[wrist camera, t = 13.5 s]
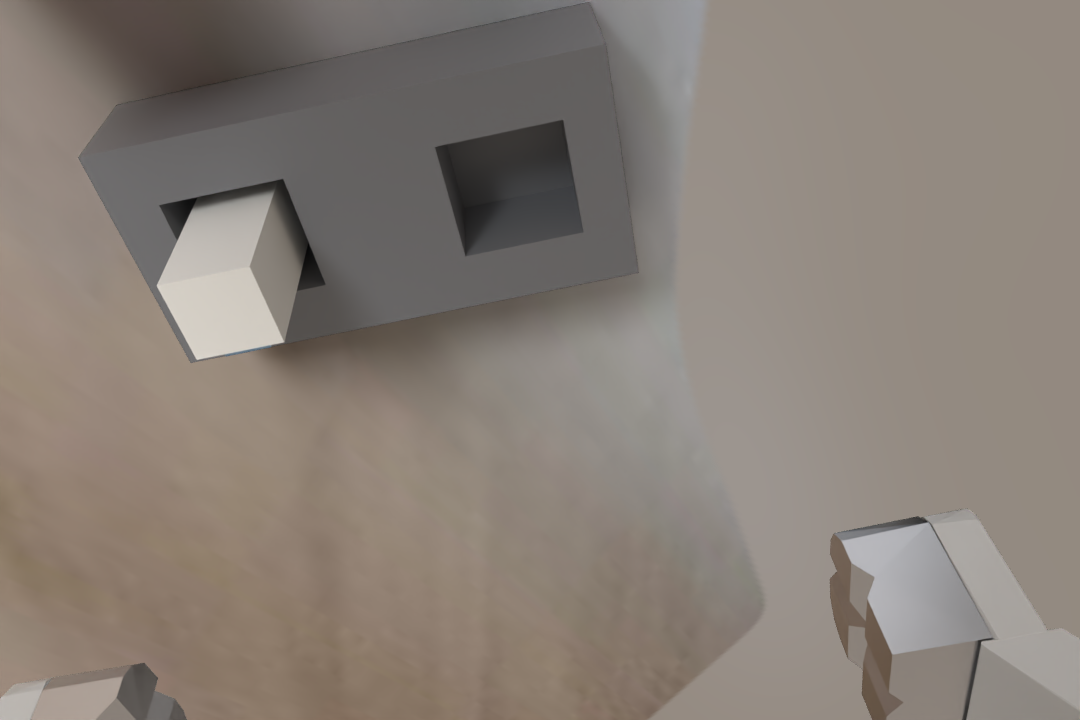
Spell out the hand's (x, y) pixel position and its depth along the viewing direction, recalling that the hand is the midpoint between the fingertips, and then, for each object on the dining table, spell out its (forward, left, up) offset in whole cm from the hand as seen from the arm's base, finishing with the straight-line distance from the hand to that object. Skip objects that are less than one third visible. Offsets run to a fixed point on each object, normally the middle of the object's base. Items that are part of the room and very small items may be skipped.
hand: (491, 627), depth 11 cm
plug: (+8, -11, -30) cm, 33 cm away
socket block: (+8, -5, -31) cm, 33 cm away
